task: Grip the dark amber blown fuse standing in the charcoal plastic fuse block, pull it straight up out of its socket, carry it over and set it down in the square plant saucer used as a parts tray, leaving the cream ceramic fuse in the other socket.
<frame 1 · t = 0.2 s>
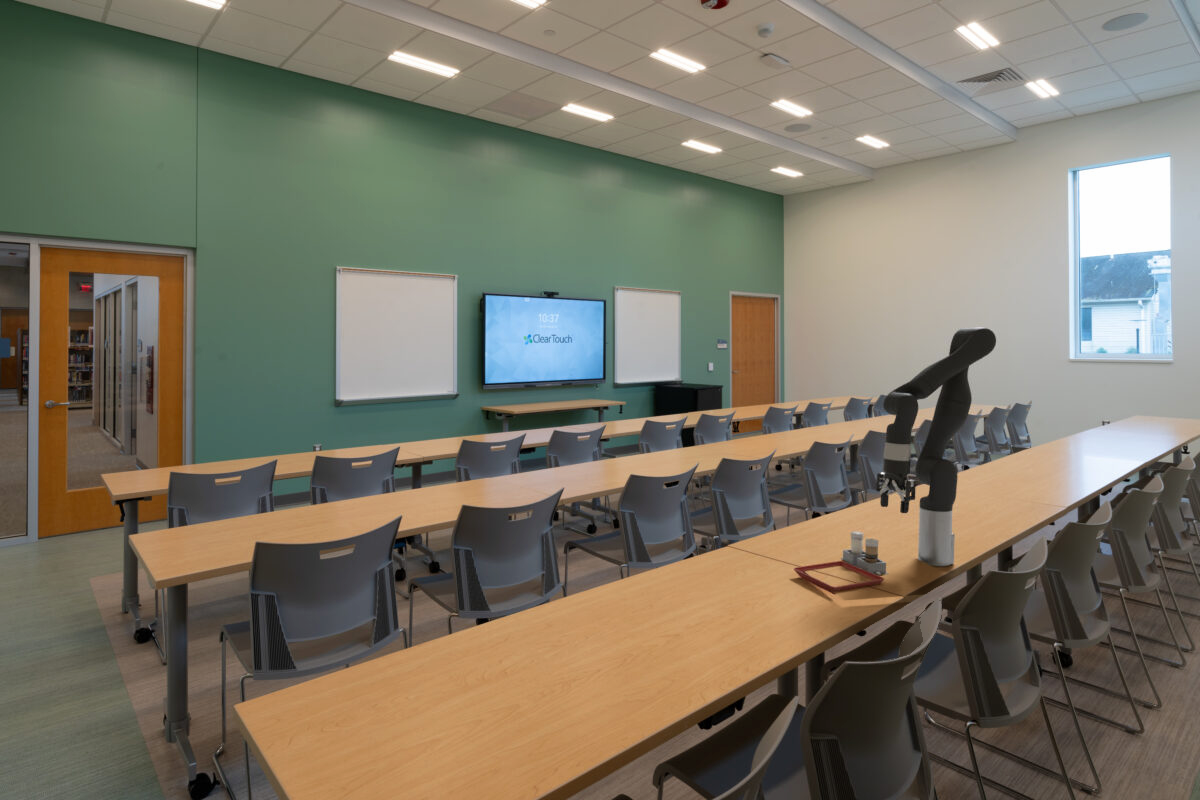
hand: (893, 509, 202), 18 cm above the table, tool pointing down, fingers open, 8 cm apart
plant saucer: (837, 584, 189), on the table
blown fuse: (871, 570, 195), point 1 cm above the table, touching fuse block
fuse block: (863, 570, 199), on the table
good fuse: (856, 561, 203), point 1 cm above the table, touching fuse block
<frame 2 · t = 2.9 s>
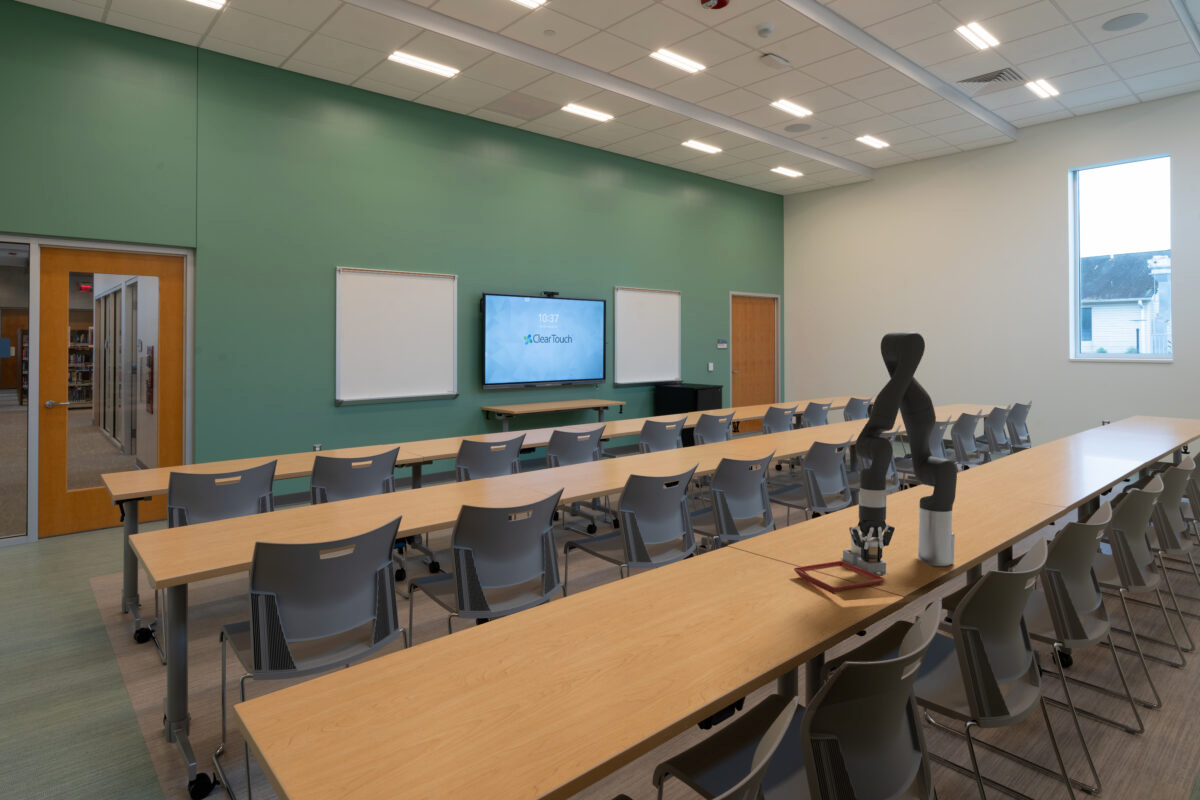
hand: (871, 559, 195), 5 cm above the table, tool pointing down, fingers closed on blown fuse, 3 cm apart
blown fuse: (871, 570, 195), point 1 cm above the table, touching fuse block, gripper
everything else where it was.
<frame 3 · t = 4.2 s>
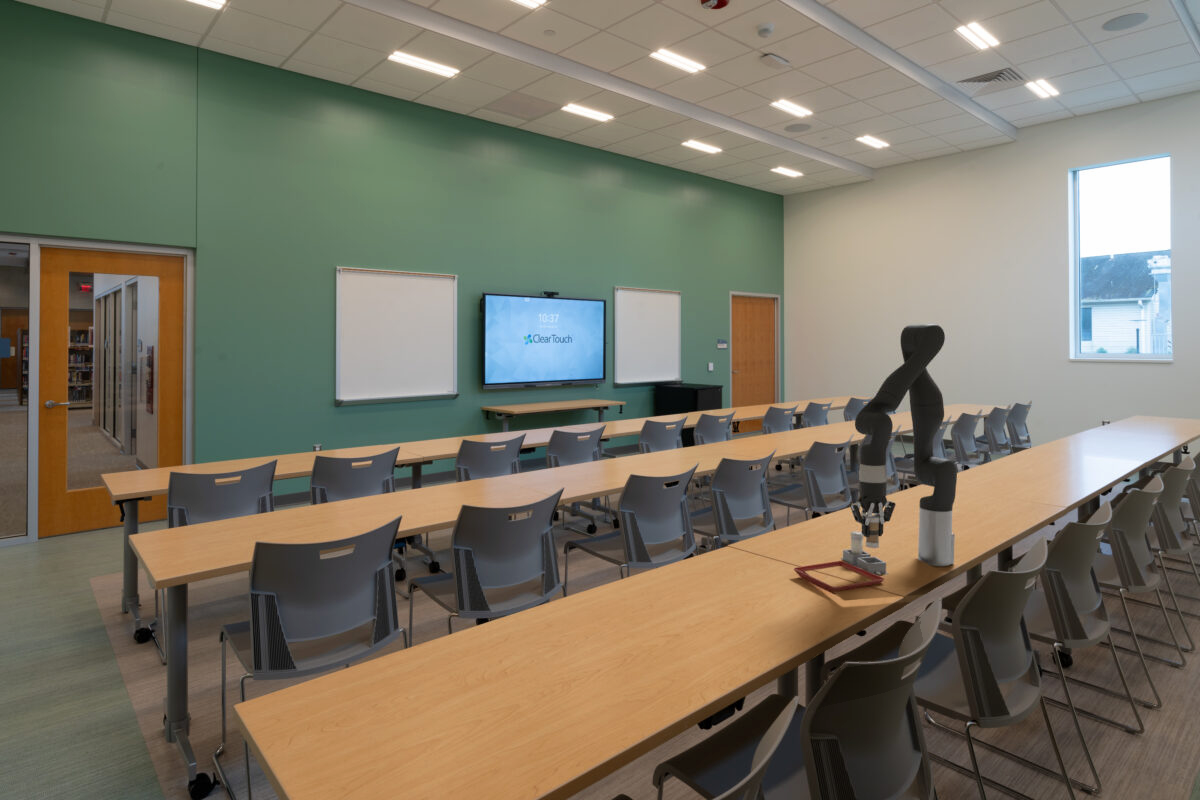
hand: (872, 535, 194), 12 cm above the table, tool pointing down, fingers closed on blown fuse, 3 cm apart
blown fuse: (872, 546, 195), point 9 cm above the table, touching gripper
everything else where it was.
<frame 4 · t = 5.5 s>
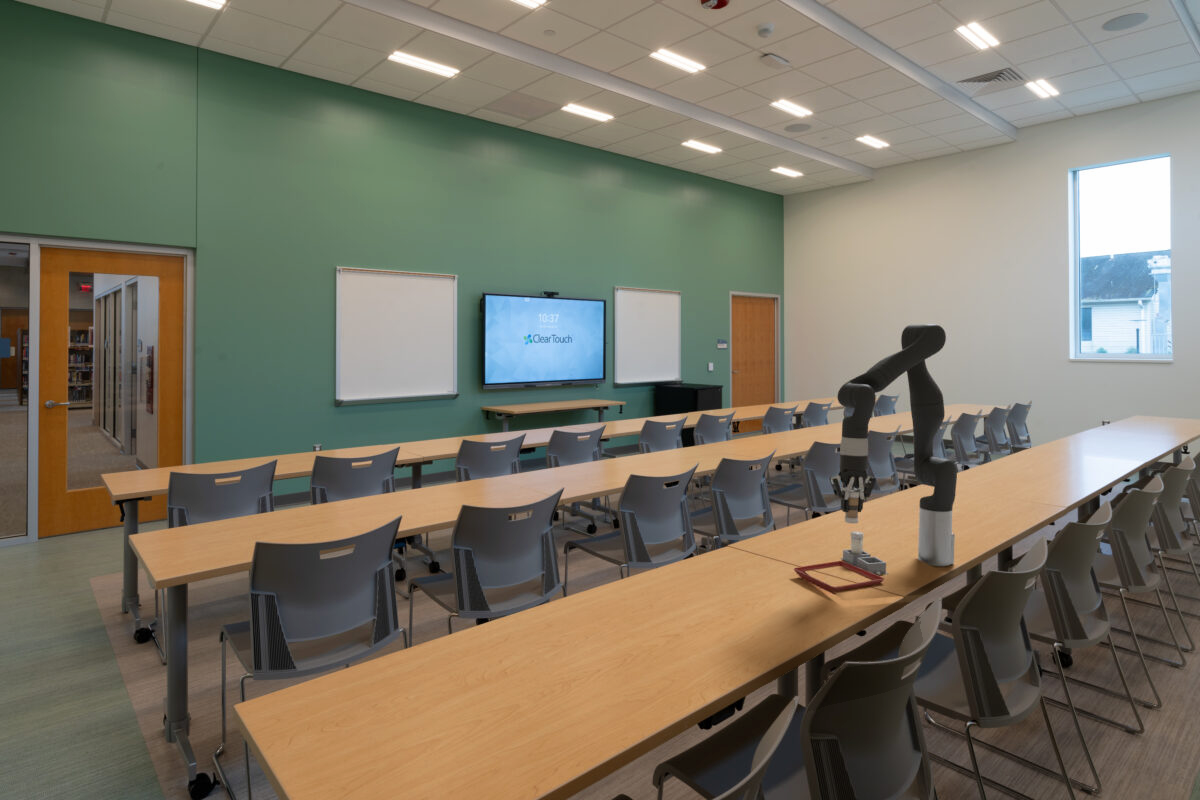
hand: (851, 511, 190), 20 cm above the table, tool pointing down, fingers closed on blown fuse, 3 cm apart
blown fuse: (851, 521, 190), point 17 cm above the table, touching gripper
everything else where it was.
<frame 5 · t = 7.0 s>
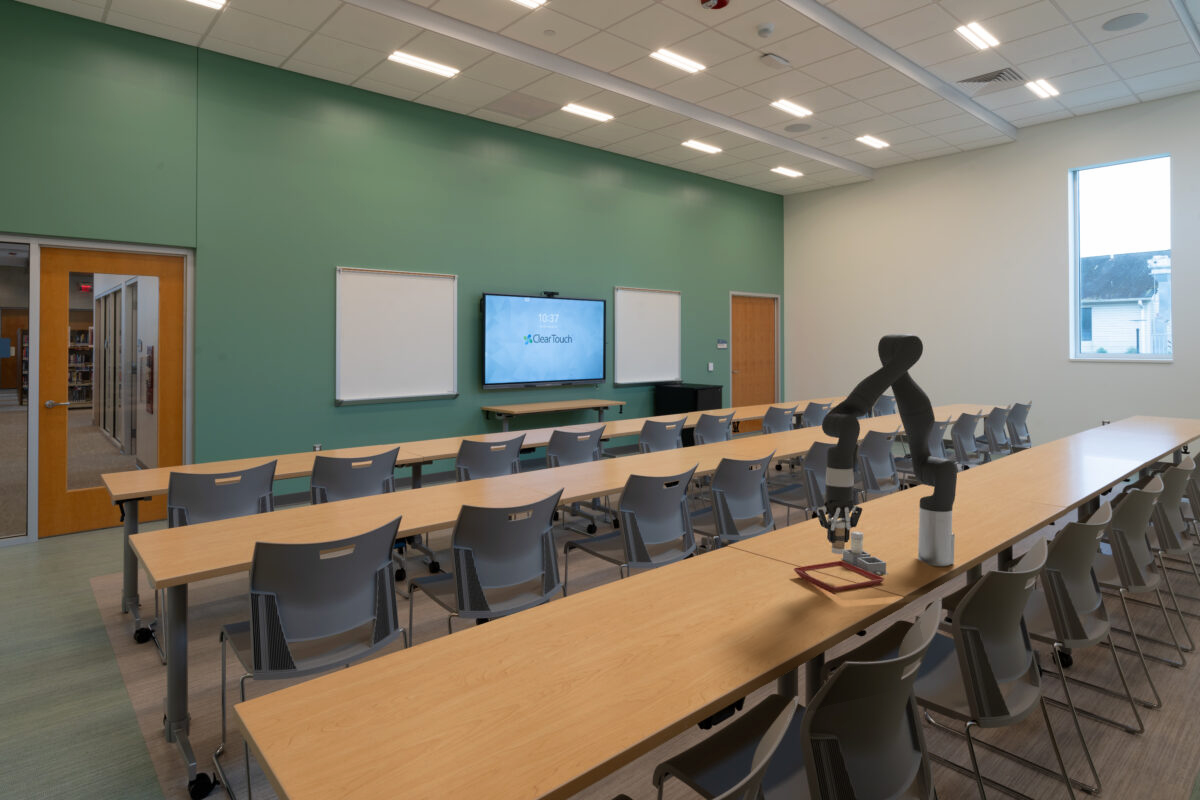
hand: (838, 541, 188), 12 cm above the table, tool pointing down, fingers closed on blown fuse, 3 cm apart
blown fuse: (838, 552, 188), point 9 cm above the table, touching gripper
everything else where it was.
when the fingers open (7 cm above the table, at t = 8.1 s): blown fuse drops 1 cm, point 3 cm above the table.
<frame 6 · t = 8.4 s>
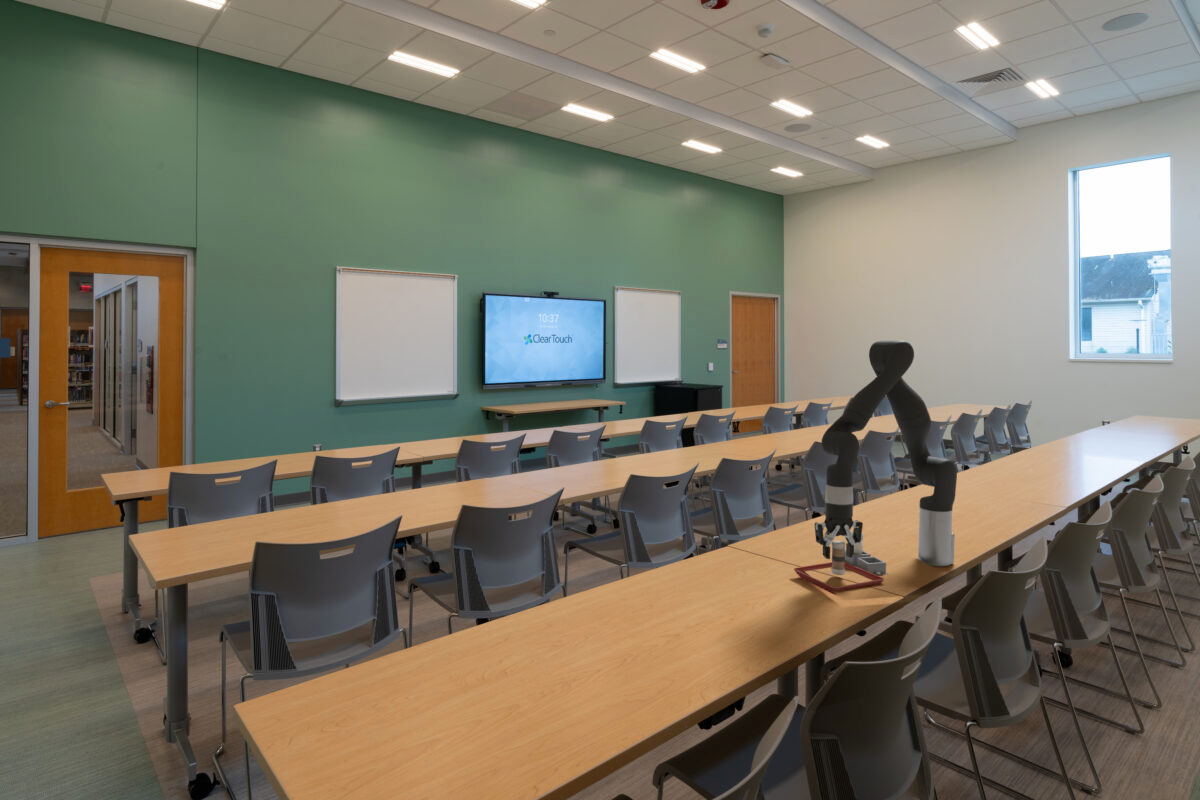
hand: (838, 557, 188), 7 cm above the table, tool pointing down, fingers open, 6 cm apart
blown fuse: (838, 572, 189), point 3 cm above the table
everything else where it was.
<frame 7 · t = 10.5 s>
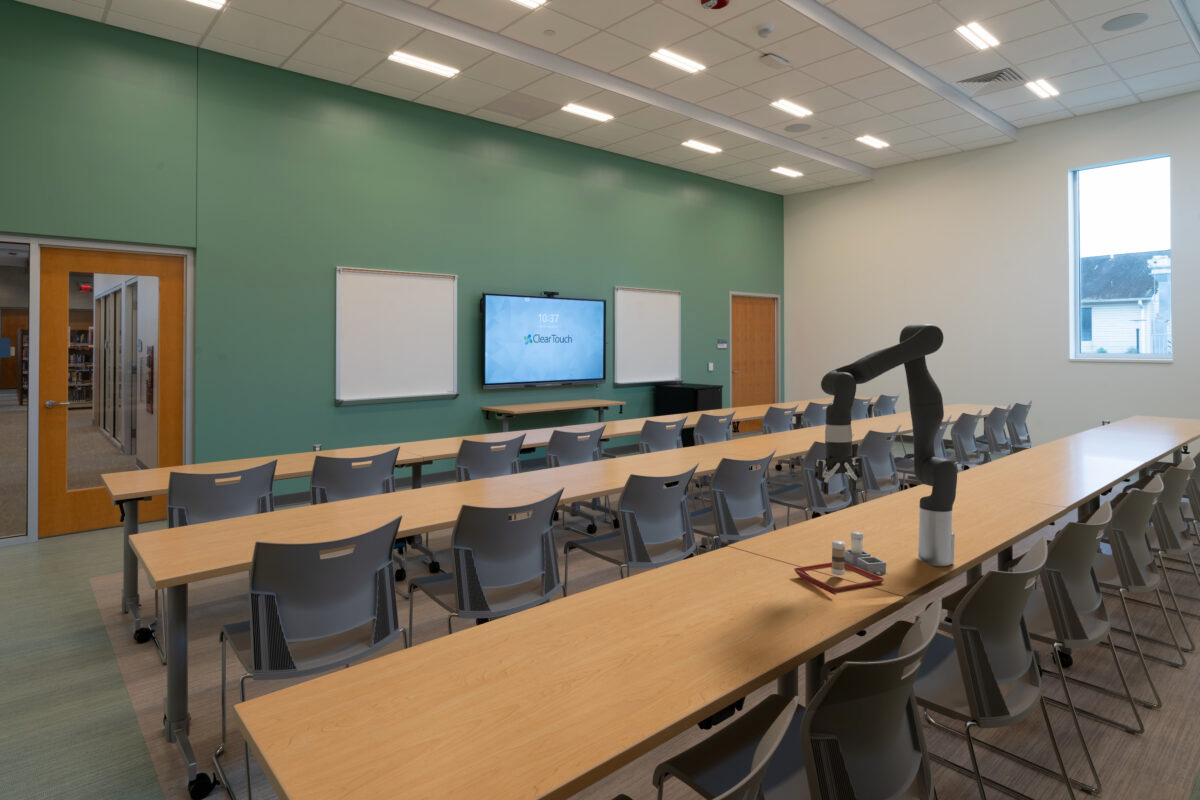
hand: (838, 493, 195), 25 cm above the table, tool pointing down, fingers open, 8 cm apart
plant saucer: (837, 584, 189), on the table, touching blown fuse
blown fuse: (838, 573, 189), point 3 cm above the table, touching plant saucer
everything else where it was.
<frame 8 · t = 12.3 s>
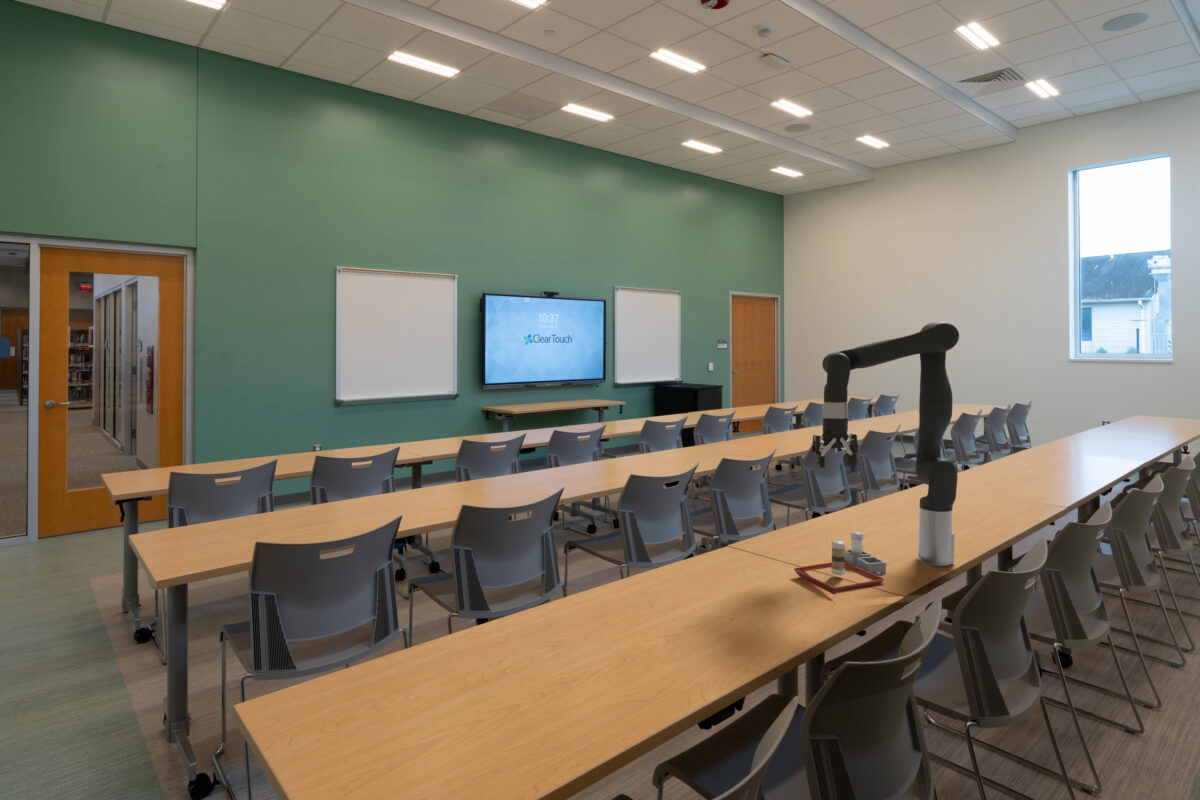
hand: (834, 467, 207), 30 cm above the table, tool pointing down, fingers open, 8 cm apart
nothing on the table moved.
at the end: blown fuse 0.0 cm from the plant saucer (horizontally); blown fuse point 2.8 cm above the table; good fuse moved 0.1 cm from its start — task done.
